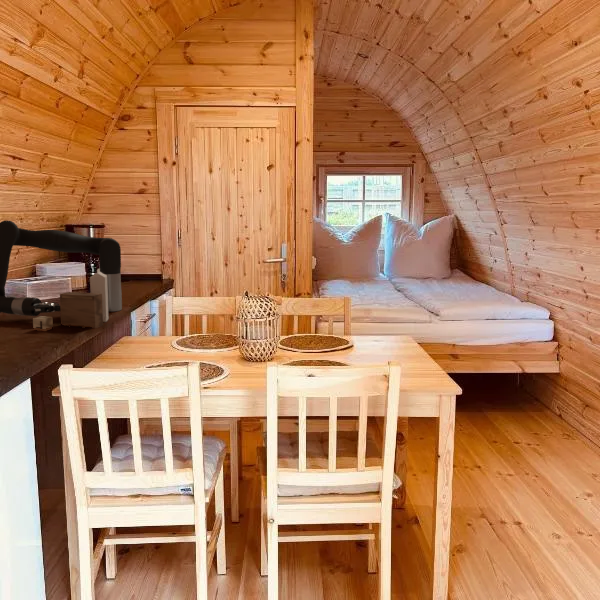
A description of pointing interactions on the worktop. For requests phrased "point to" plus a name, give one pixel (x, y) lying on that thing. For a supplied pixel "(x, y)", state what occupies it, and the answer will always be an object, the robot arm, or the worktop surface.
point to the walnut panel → (81, 309)
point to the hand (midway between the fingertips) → (64, 308)
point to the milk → (100, 290)
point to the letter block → (42, 322)
